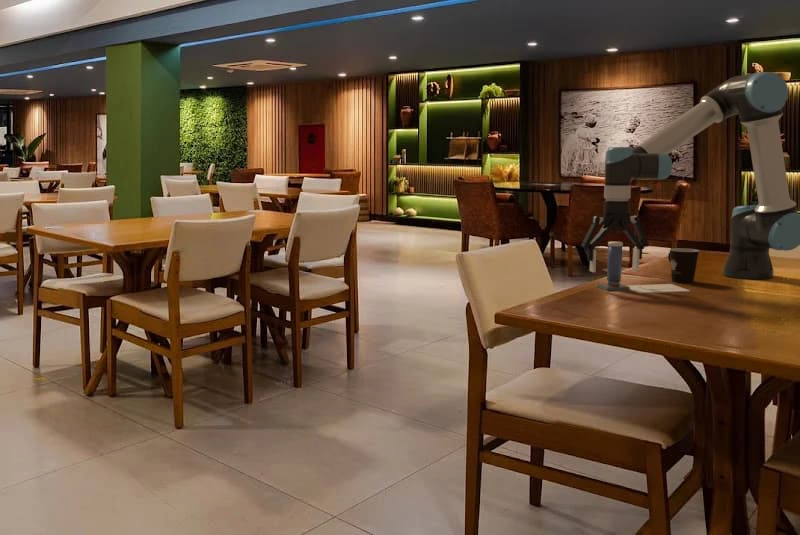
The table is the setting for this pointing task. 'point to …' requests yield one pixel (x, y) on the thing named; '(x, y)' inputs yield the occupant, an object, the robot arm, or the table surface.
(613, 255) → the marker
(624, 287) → the coaster
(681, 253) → the coffee mug
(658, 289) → the paper
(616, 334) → the table surface
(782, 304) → the table surface
